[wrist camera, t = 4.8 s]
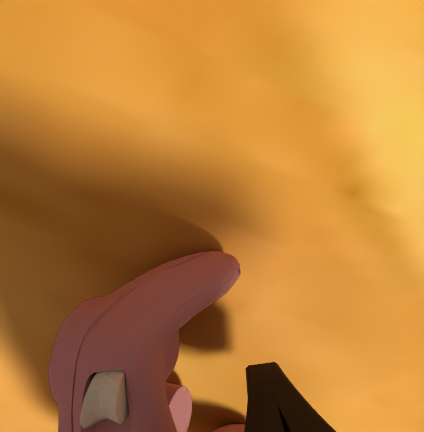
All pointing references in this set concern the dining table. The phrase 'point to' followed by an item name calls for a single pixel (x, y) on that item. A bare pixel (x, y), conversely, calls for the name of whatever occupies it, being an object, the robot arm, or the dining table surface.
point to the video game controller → (135, 349)
